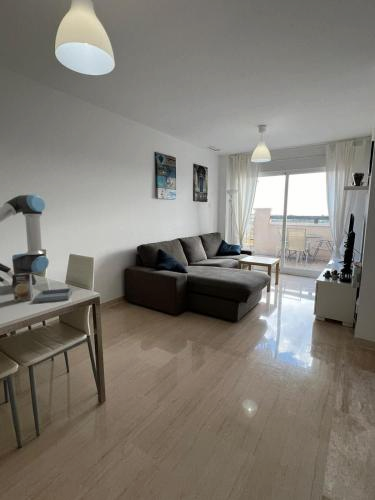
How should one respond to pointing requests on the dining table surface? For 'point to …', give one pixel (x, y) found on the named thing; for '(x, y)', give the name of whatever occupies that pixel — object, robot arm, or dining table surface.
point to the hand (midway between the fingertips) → (13, 281)
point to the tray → (53, 295)
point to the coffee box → (22, 287)
